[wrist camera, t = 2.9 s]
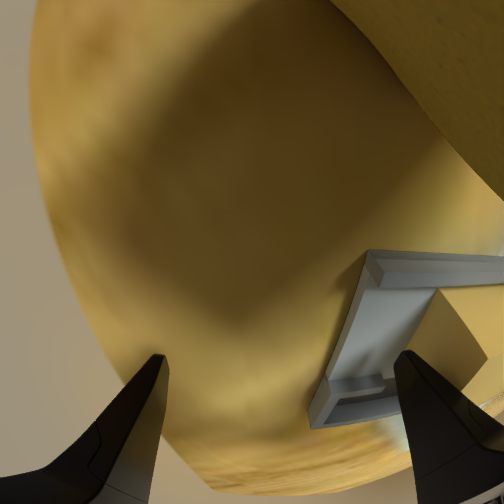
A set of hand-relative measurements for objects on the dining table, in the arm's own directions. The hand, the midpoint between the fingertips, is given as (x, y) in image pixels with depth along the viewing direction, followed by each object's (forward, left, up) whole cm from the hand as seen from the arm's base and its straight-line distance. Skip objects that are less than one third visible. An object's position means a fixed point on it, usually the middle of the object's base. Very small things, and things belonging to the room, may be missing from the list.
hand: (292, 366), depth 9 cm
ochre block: (-10, 0, -1) cm, 10 cm away
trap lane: (-10, +2, -2) cm, 10 cm away
